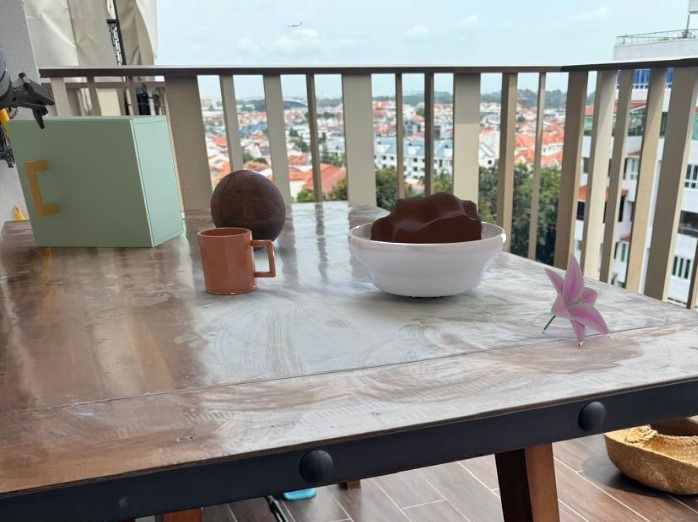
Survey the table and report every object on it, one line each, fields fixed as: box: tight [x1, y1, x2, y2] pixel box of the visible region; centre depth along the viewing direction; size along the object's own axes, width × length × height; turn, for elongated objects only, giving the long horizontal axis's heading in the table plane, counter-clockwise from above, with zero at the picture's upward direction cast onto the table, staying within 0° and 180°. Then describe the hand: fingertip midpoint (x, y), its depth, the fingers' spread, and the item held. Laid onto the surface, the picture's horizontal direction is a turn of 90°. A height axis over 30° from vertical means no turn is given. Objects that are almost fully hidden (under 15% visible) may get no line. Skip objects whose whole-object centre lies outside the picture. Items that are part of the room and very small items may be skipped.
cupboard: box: [7, 114, 185, 248], centre depth 163 cm, size 18×26×24 cm
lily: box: [542, 252, 611, 349], centre depth 99 cm, size 12×12×10 cm
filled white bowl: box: [347, 191, 507, 299], centre depth 119 cm, size 25×25×15 cm
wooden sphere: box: [210, 169, 287, 251], centre depth 153 cm, size 15×15×15 cm
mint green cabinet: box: [4, 120, 154, 248], centre depth 152 cm, size 7×26×24 cm, turn 84°
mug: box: [196, 227, 277, 296], centre depth 125 cm, size 12×9×9 cm
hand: (4, 134), depth 142 cm, fingers open, 13 cm apart
